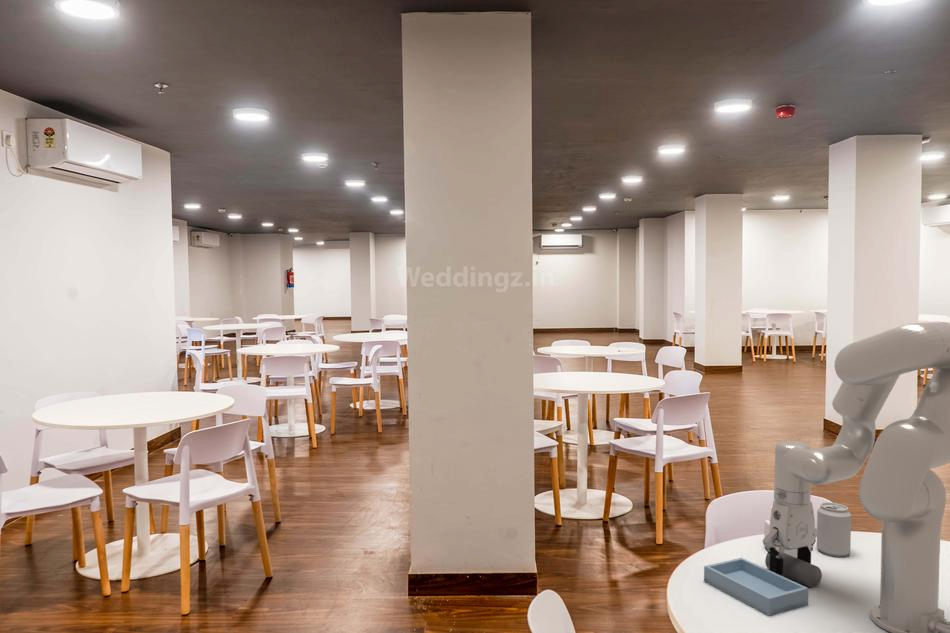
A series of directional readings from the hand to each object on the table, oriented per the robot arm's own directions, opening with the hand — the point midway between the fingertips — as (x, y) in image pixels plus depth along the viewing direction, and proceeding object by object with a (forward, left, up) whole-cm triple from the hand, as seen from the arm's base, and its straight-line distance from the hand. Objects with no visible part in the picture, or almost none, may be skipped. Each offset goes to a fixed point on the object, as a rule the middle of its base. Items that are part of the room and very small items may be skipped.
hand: (790, 569), depth 149 cm
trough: (-2, +14, -2) cm, 14 cm away
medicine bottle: (+11, -11, -2) cm, 16 cm away
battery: (0, 0, -2) cm, 2 cm away
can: (+6, -23, -2) cm, 24 cm away
